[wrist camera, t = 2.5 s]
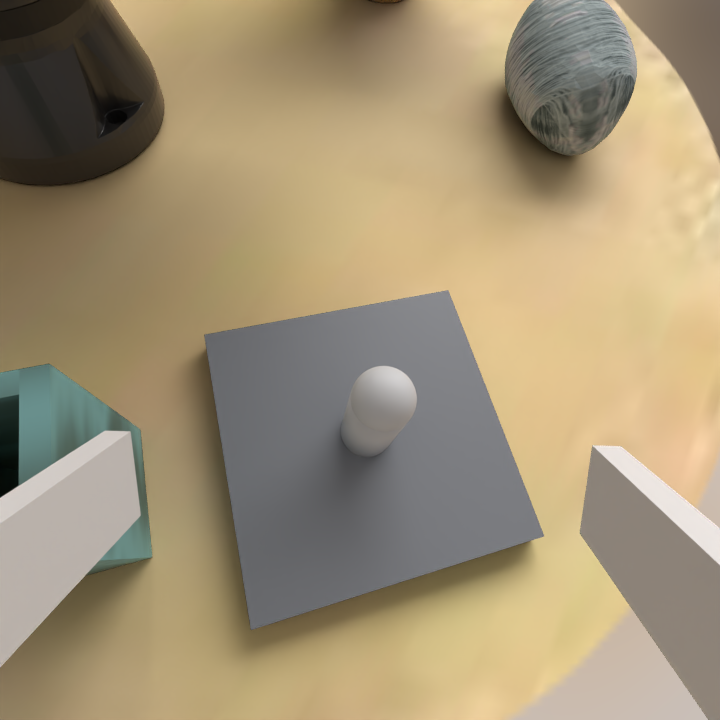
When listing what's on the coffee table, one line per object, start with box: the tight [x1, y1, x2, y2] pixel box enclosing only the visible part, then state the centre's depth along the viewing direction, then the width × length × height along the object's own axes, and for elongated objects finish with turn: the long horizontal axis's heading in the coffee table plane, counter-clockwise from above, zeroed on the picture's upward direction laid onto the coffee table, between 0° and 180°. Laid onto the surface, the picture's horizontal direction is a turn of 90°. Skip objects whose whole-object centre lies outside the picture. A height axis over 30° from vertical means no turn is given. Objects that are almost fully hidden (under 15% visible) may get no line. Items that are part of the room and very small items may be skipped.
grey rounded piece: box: [505, 0, 637, 156], centre depth 37 cm, size 14×10×10 cm
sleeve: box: [0, 364, 152, 576], centre depth 19 cm, size 7×7×10 cm
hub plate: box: [204, 290, 544, 630], centre depth 23 cm, size 16×16×9 cm
